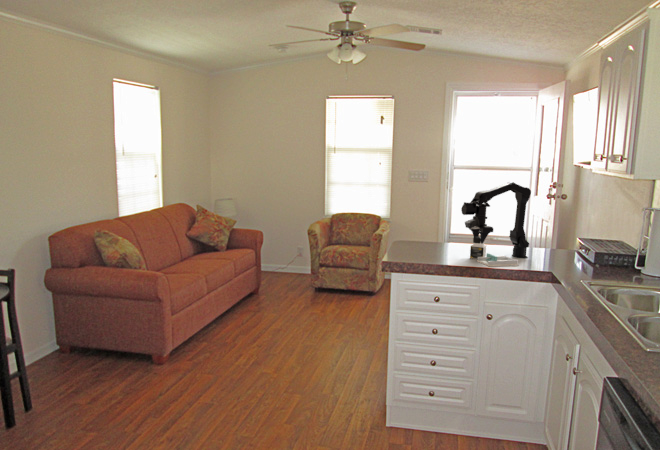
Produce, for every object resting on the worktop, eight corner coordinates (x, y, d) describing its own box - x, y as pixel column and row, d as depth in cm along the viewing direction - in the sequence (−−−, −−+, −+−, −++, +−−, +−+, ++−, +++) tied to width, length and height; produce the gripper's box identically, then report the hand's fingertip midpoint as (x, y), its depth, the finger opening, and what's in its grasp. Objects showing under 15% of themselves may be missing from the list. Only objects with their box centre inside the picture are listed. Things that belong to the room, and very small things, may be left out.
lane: (504, 260, 278) (505, 255, 278) (517, 265, 267) (518, 260, 266) (477, 261, 274) (477, 256, 274) (489, 266, 262) (489, 261, 262)
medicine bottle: (469, 258, 281) (471, 237, 280) (472, 256, 288) (473, 235, 286) (482, 259, 278) (484, 238, 276) (485, 257, 284) (486, 236, 283)
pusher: (488, 259, 273) (488, 253, 273) (496, 263, 265) (497, 256, 265) (474, 260, 271) (475, 253, 271) (482, 263, 263) (483, 257, 263)
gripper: (459, 212, 286) (457, 239, 289) (476, 217, 268) (474, 246, 271) (476, 212, 289) (475, 239, 291) (494, 216, 271) (492, 245, 273)
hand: (478, 242), depth 282 cm, fingers closed on medicine bottle, 6 cm apart
